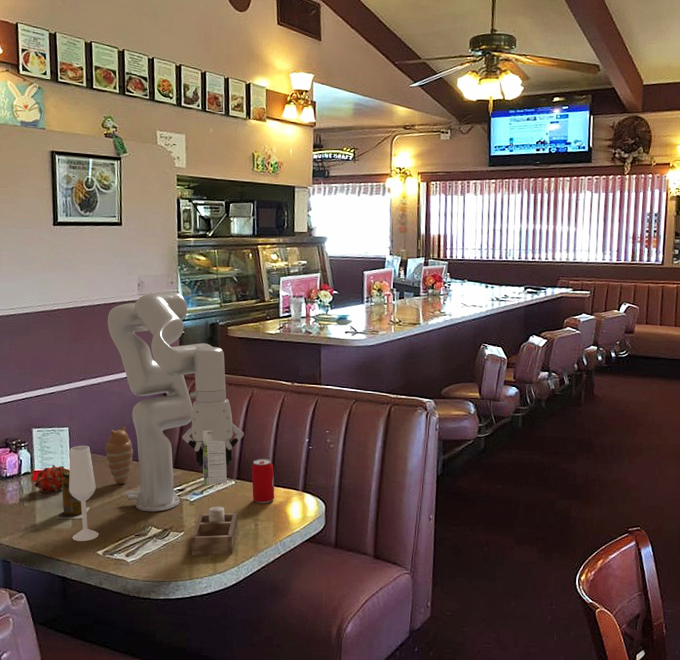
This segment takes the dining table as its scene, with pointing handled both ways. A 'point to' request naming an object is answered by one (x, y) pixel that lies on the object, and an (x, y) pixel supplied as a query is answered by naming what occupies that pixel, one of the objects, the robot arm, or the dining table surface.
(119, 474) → the cat ice cream
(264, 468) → the beverage can
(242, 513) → the dining table surface
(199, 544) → the caddy
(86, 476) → the champagne flute
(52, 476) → the dragon fruit
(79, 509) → the condiment
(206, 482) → the syrup box
